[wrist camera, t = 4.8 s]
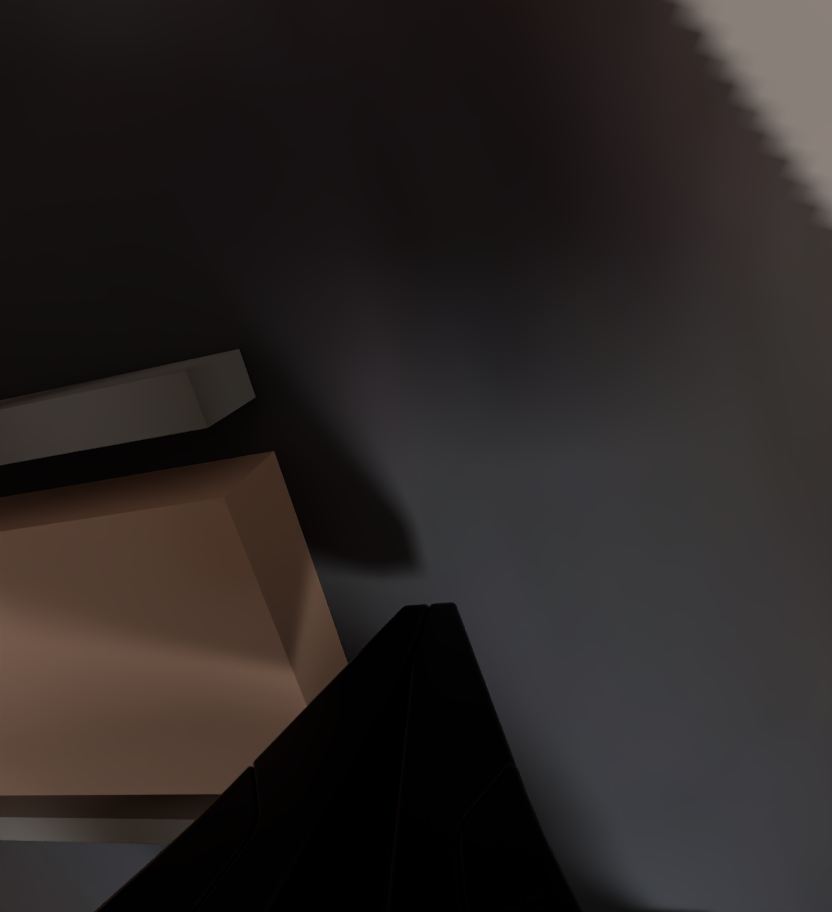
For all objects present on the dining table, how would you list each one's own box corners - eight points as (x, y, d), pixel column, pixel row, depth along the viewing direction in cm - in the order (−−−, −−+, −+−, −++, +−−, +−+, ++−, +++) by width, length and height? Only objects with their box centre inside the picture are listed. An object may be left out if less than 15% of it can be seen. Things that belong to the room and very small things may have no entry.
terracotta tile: (284, 441, 9) (224, 497, 7) (370, 694, 11) (341, 793, 9) (-189, 523, 12) (-329, 581, 10) (-50, 716, 14) (-142, 796, 12)
